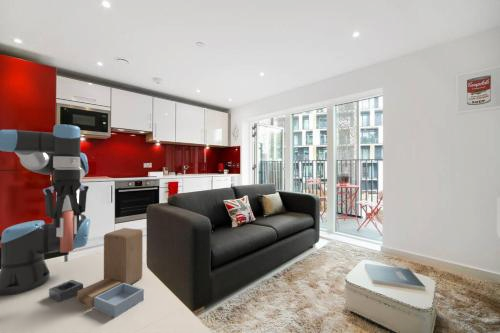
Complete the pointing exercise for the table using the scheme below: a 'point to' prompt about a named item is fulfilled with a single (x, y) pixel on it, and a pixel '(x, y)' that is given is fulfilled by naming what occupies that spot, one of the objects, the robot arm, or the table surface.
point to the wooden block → (123, 255)
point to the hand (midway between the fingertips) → (66, 234)
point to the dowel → (67, 232)
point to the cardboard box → (95, 291)
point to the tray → (118, 299)
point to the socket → (65, 290)
